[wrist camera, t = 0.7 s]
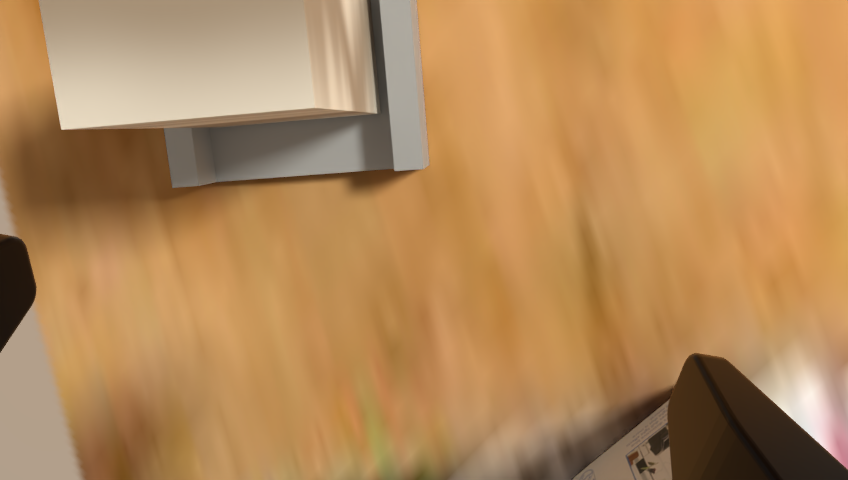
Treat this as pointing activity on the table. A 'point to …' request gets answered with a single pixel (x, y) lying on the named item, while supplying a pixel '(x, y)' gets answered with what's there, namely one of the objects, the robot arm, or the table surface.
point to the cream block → (209, 61)
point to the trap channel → (323, 124)
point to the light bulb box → (636, 453)
